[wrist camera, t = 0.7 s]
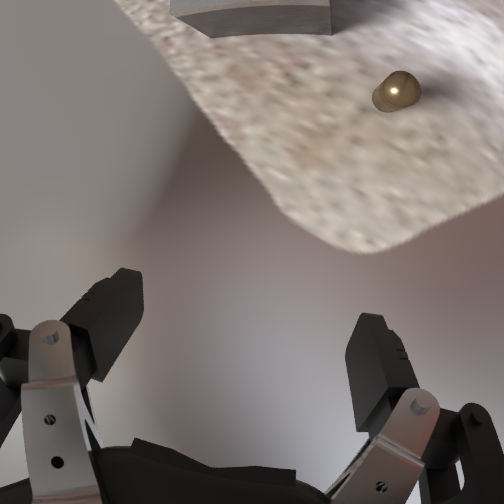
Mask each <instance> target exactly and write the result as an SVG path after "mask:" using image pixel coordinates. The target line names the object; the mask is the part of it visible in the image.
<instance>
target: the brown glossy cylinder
mask: <svg viewBox="0 0 504 504" xmlns="http://www.w3.org/2000/svg"><path fill="white" fill-rule="evenodd" d="M420 95H421V88H420V85H419V82H418V81H417V79H416V78H415V77H414V76H413V75H411V74H410V73H408V72H405V71H395V72H393V73H391V74H390V75H389V76H388V77H387V78H386V79H385V80H384V81H383V82H382V83H381V84H380V85H379V86H378V87H377V88H376V89H375V91H374V92H373V95H372V101H373V104H374V105H375V107H376V108H377V109H378V110H380V111H382V112H392V111H395V110H398V109H401V108H404V107H407V106H410V105H413V104H415V103H416V102H417V101H418V100H419V98H420Z"/></svg>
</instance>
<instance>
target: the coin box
mask: <svg viewBox="0 0 504 504" xmlns="http://www.w3.org/2000/svg"><path fill="white" fill-rule="evenodd" d="M169 14H170V15H172V16H174V17H176V18H178V19H179V20H181V21H183V22H185V23H186V24H188V25H190V26H192V27H193V28H195V29H197V30H198V31H200V32H202V33H203V34H205V35H207V36H208V37H210V38H217V37H227V36H239V35H255V34H315V35H331V36H332V23H331V0H171V1H170V11H169Z"/></svg>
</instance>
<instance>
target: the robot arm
mask: <svg viewBox="0 0 504 504" xmlns="http://www.w3.org/2000/svg"><path fill="white" fill-rule="evenodd" d="M143 311H144V301H143V281H142V274H141V272H140V271H135V270H131V269H126V268H120V269H119V270H118V271H117V272H116V273H115V274H114V275H113V276H112V277H111V278H105V279H103V280H101V281H99V282H97V283H95V284H94V285H93V286H92V287H91V288H90V289H89V290H88V292H87V293H85V294H84V295H83V296H82V298H81V299H79V300H78V301H77V302H76V304H74V306H73V307H72V308H71V309H70V310H69V311H68V312H67V313H66V314H65V315H64V316H63V317H62V318H61V319H60V320H59V321H58V320H47V321H44V322H41V323H39V324H38V325H36V326H35V327H34V328H33V329H32V331H31V330H21V329H15V328H14V325H13V322H12V319H11V318H10V317H9V316H7V315H5V314H0V448H1V445H2V444H3V442H4V440H5V438H6V437H7V435H8V433H9V431H10V430H11V428H12V426H13V424H14V423H15V421H16V419H17V418H18V416H19V414H20V413H21V411H22V423H23V435H24V444H25V452H26V459H27V465H28V472H29V478H27V479H24V480H21V481H19V482H16V483H13V484H10V485H7V486H4V487H1V488H0V504H405V503H406V501H407V499H408V497H409V496H410V494H411V492H412V490H413V488H414V486H415V484H416V482H417V481H418V480H419V488H420V497H421V504H504V454H503V451H502V447H501V445H500V441H499V439H498V436H497V433H496V430H495V427H494V425H493V422H492V419H491V417H490V415H489V413H488V412H487V411H486V409H485V408H484V407H482V406H481V405H479V404H476V403H467V404H465V405H464V406H463V407H462V408H461V410H460V411H459V412H454V411H450V410H446V409H442V408H440V406H439V403H438V401H437V400H436V398H435V397H434V396H433V395H432V394H431V393H430V392H428V391H426V390H424V389H421V388H420V387H419V384H418V381H417V379H416V376H415V374H414V371H413V368H412V365H411V363H410V360H408V355H407V353H406V352H405V348H404V346H403V343H402V341H401V339H400V338H399V337H398V336H397V334H396V333H395V332H394V331H393V330H388V327H387V325H386V322H385V320H384V318H383V316H382V315H377V314H370V313H362V314H361V315H360V316H359V319H358V321H357V324H356V326H355V328H354V331H353V333H352V336H351V338H350V340H349V342H348V345H347V348H346V354H345V361H346V367H347V373H348V378H349V384H350V391H351V396H352V402H353V410H354V417H355V424H356V431H357V432H368V433H369V439H368V440H367V441H366V442H365V444H364V445H363V447H362V448H361V449H360V450H359V452H358V453H357V455H356V456H355V457H354V459H353V460H352V461H351V462H350V464H349V465H348V466H347V468H346V469H345V470H344V471H343V473H342V474H341V475H340V476H339V478H338V479H337V480H336V481H335V482H334V483H333V484H332V485H331V486H330V487H329V488H328V489H327V491H326V492H325V493H322V492H321V491H320V490H318V489H316V488H315V487H313V486H311V485H309V484H307V483H304V482H302V481H298V480H296V470H291V469H279V468H270V467H261V466H248V467H227V468H212V467H209V466H206V465H204V464H202V463H200V462H198V461H195V460H193V459H191V458H189V457H187V456H185V455H183V454H181V453H179V452H177V451H175V450H173V449H171V448H167V447H163V446H160V445H157V444H153V443H150V442H147V441H144V440H141V439H138V438H134V441H133V443H132V445H131V446H113V447H104V444H103V441H102V439H101V436H100V433H99V430H98V427H97V423H96V420H95V415H94V412H93V408H92V403H91V399H90V394H89V390H88V386H87V384H88V382H89V380H90V379H91V378H92V379H94V380H97V381H99V382H103V380H104V379H105V377H106V375H107V374H108V372H109V371H110V369H111V367H112V366H113V364H114V362H115V361H116V359H117V357H118V356H119V354H120V353H121V351H122V349H123V348H124V346H125V345H126V343H127V342H128V340H129V339H130V337H131V335H132V334H133V332H134V331H135V329H136V328H137V326H138V325H139V323H140V321H141V319H142V316H143ZM458 460H460V461H461V465H462V470H463V474H464V480H465V481H464V486H463V488H462V490H460V484H459V480H458V474H457V470H456V465H455V463H456V462H457V461H458Z"/></svg>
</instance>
